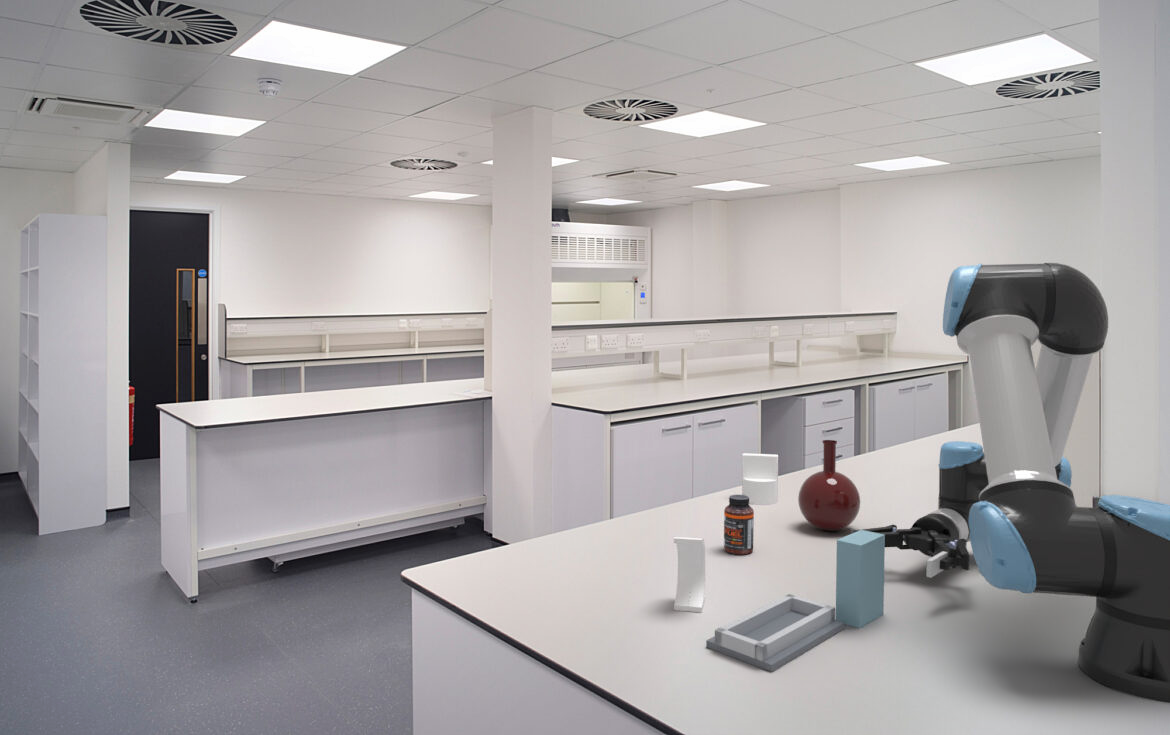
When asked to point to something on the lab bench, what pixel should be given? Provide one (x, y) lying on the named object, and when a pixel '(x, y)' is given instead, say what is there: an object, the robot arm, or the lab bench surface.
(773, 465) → the base with upright slab
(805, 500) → the round-bottom flask
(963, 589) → the lab bench surface
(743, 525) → the supplement bottle
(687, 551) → the headphone stand
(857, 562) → the teal rectangular block
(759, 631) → the grey rectangular tray
